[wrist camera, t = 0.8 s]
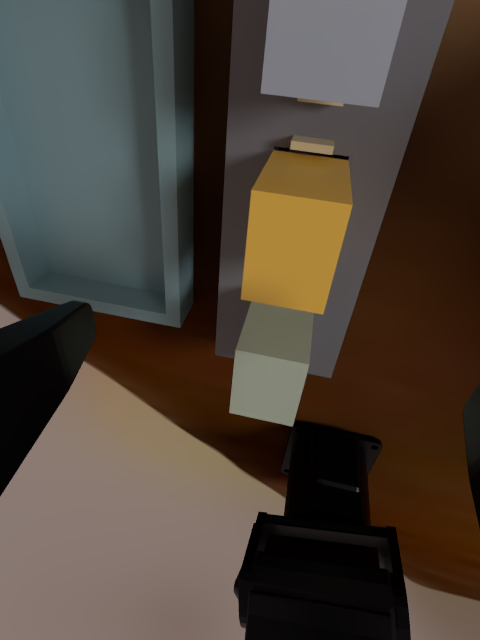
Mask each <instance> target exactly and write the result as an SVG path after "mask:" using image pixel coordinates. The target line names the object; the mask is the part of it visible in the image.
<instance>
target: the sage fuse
mask: <svg viewBox="0 0 480 640" xmlns="http://www.w3.org/2000/svg"><path fill="white" fill-rule="evenodd" d="M313 318H314V313H312V312H306V311H301V310H295V309H290V308H284V307H279V306H274V305H268V304H263V303H257V302H252V301H251V304H250V307H249V310H248V313H247V316H246V319H245V322H244V325H243V328H242V331H241V335H240V338H239V341H238V344H237V347H236V350H235V360H234V370H233V381H232V391H231V401H230V411H229V413H233V414H238V415H242V416H247V417H251V418H256V419H260V420H265V421H269V422H274V423H278V424H283V425H288V426H292V427H293V424H294V420H295V416H296V413H297V409H298V405H299V402H300V398H301V394H302V390H303V387H304V383H305V379H306V375H307V372H308V368H309V364H310V352H311V341H312V330H313Z"/></svg>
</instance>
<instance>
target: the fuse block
mask: <svg viewBox="0 0 480 640" xmlns="http://www.w3.org/2000/svg"><path fill="white" fill-rule="evenodd" d="M269 1H270V0H234V4H233V23H232V42H231V61H230V80H229V99H228V118H227V137H226V156H225V175H224V194H223V213H222V232H221V251H220V270H219V289H218V308H217V327H216V346H215V355H219V356H224V357H229V358H234V359H235V350H236V347H237V344H238V341H239V338H240V335H241V331H242V328H243V325H244V322H245V319H246V316H247V313H248V310H249V307H250V304H251V301H246V300H241V291H242V281H243V271H244V261H245V250H246V240H247V230H248V220H249V210H250V199H251V190H252V188H253V186H254V184H255V183H256V181H257V179H258V177H259V175H260V174H261V172H262V170H263V168H264V166H265V164H266V163H267V161H268V159H269V157H270V155H271V154H272V152H273V150H279V147H283V148H290V149H292V150H299V151H306V152H314V153H321V154H328V155H333V154H335V155H342V156H345V160H349V168H350V179H351V191H352V202H353V206H352V210H351V214H350V217H349V221H348V225H347V228H346V232H345V236H344V239H343V243H342V247H341V251H340V254H339V258H338V262H337V265H336V269H335V273H334V277H333V280H332V284H331V288H330V291H329V295H328V299H327V303H326V306H325V310H324V314H317V313H314V318H313V330H312V341H311V352H310V364H309V368H308V372H307V373H308V374H313V375H317V376H322V377H327V378H331V376H332V373H333V370H334V367H335V364H336V361H337V358H338V355H339V352H340V349H341V345H342V342H343V339H344V336H345V333H346V330H347V327H348V324H349V321H350V318H351V315H352V312H353V309H354V306H355V303H356V300H357V297H358V294H359V291H360V288H361V284H362V281H363V278H364V275H365V272H366V269H367V266H368V263H369V260H370V257H371V254H372V251H373V248H374V245H375V242H376V239H377V236H378V233H379V230H380V226H381V223H382V220H383V217H384V214H385V211H386V208H387V205H388V202H389V199H390V196H391V193H392V190H393V187H394V184H395V181H396V178H397V175H398V172H399V169H400V165H401V162H402V159H403V156H404V153H405V150H406V147H407V144H408V141H409V138H410V135H411V132H412V129H413V126H414V123H415V120H416V117H417V114H418V111H419V108H420V104H421V101H422V98H423V95H424V92H425V89H426V86H427V83H428V80H429V77H430V74H431V71H432V68H433V65H434V62H435V59H436V56H437V53H438V50H439V46H440V43H441V40H442V37H443V34H444V31H445V28H446V25H447V22H448V19H449V16H450V13H451V10H452V7H453V4H454V1H455V0H408V1H407V4H406V8H405V12H404V15H403V19H402V23H401V27H400V30H399V34H398V38H397V41H396V45H395V49H394V53H393V56H392V60H391V64H390V67H389V71H388V75H387V79H386V82H385V86H384V90H383V93H382V97H381V101H380V105H379V108H377V107H369V106H361V105H352V104H344V103H336V102H327V101H319V100H311V99H303V98H294V97H286V96H278V95H270V94H261V83H262V73H263V63H264V53H265V42H266V32H267V22H268V11H269Z"/></svg>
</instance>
